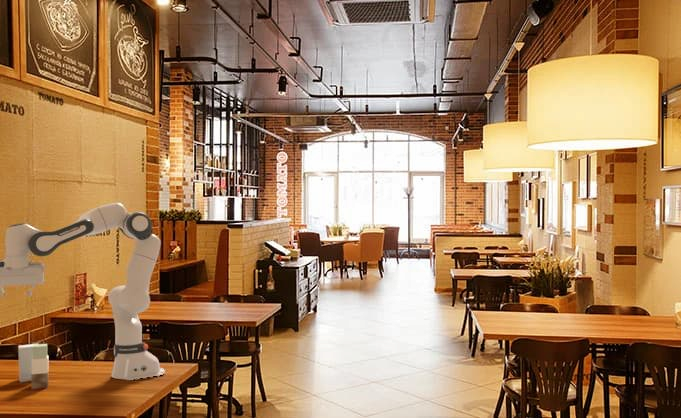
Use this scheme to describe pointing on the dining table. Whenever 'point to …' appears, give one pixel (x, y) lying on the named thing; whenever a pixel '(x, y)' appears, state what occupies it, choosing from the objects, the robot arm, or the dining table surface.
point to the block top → (40, 365)
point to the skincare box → (25, 362)
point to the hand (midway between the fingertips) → (17, 296)
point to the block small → (39, 351)
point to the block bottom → (39, 381)
